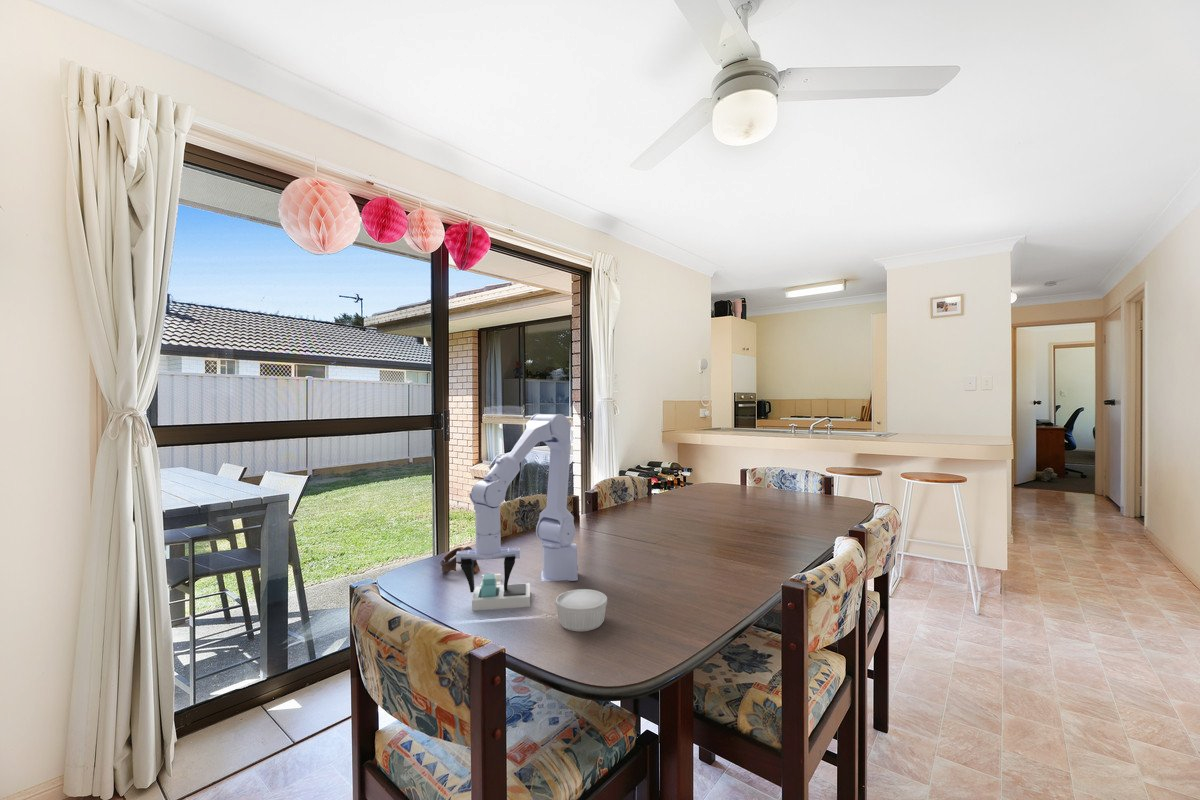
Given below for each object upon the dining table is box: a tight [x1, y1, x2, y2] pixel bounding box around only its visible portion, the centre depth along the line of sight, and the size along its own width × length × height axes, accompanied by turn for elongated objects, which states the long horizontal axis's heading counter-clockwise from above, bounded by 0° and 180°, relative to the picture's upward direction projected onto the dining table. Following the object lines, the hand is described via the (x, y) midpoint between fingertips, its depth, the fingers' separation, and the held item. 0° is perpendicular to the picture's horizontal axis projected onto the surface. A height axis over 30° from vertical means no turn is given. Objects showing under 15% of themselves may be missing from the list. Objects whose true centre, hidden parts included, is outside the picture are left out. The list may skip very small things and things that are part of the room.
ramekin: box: [554, 588, 608, 633], centre depth 109 cm, size 11×11×5 cm
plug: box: [481, 573, 497, 598], centre depth 120 cm, size 3×4×6 cm
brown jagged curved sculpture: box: [439, 546, 481, 575], centre depth 142 cm, size 12×10×8 cm
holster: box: [479, 573, 502, 586], centre depth 130 cm, size 5×8×2 cm, turn 8°
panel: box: [471, 582, 531, 612], centre depth 120 cm, size 13×9×3 cm
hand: (489, 589), depth 120 cm, fingers open, 7 cm apart
